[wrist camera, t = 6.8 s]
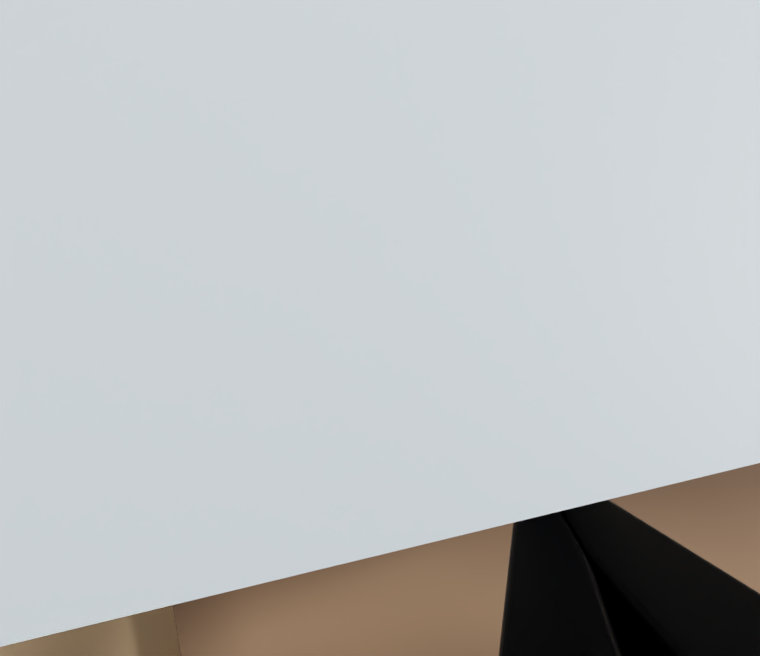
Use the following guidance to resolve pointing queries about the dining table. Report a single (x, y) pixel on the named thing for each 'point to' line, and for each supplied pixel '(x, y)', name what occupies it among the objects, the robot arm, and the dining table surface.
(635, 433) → the carton
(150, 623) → the dining table surface
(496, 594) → the podium board
